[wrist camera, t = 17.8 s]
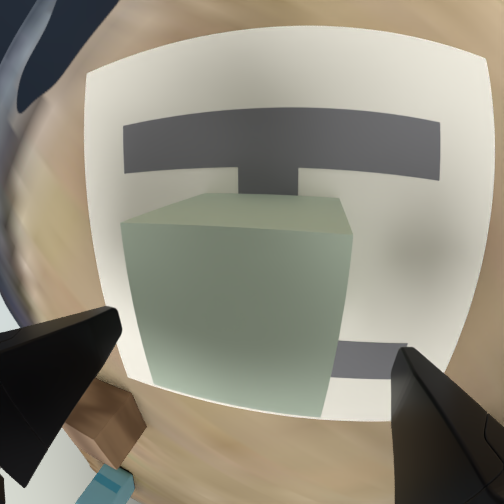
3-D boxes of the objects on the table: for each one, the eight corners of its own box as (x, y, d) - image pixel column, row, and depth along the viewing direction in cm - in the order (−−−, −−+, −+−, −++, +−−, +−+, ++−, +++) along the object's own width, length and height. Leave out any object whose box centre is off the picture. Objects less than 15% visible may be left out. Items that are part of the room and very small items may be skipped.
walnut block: (132, 392, 20) (93, 440, 14) (147, 426, 22) (116, 469, 16) (91, 376, 21) (53, 414, 16) (108, 410, 23) (77, 447, 17)
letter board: (476, 63, 7) (486, 58, 6) (416, 408, 14) (419, 419, 13) (98, 75, 12) (86, 73, 11) (135, 369, 18) (127, 377, 17)
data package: (108, 457, 30) (71, 506, 19) (132, 472, 29) (98, 524, 18) (114, 477, 35) (86, 517, 24) (135, 489, 34) (108, 530, 23)
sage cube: (339, 198, 10) (353, 234, 5) (326, 322, 12) (320, 417, 7) (204, 193, 12) (119, 222, 7) (211, 308, 13) (153, 383, 8)
